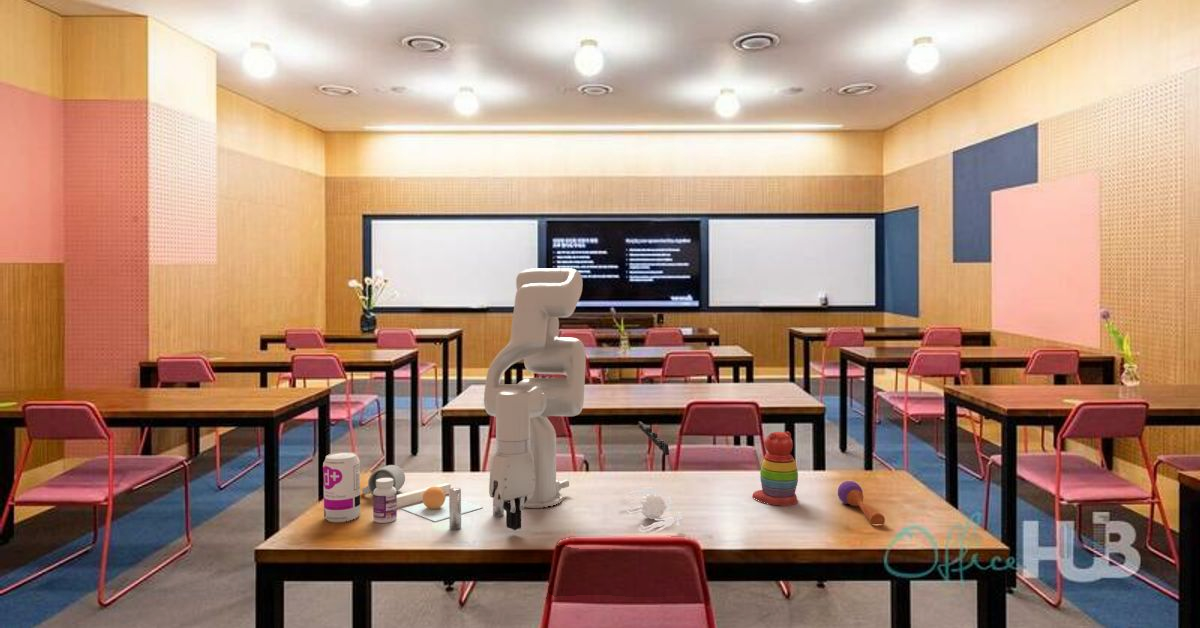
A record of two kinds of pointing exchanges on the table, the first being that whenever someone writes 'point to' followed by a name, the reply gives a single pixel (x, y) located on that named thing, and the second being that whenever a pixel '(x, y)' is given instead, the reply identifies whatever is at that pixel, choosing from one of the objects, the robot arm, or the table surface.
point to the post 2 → (498, 511)
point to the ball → (434, 497)
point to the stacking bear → (778, 471)
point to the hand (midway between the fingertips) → (513, 527)
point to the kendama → (858, 501)
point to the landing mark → (439, 510)
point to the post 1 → (455, 508)
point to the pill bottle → (384, 501)
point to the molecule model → (651, 502)
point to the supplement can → (341, 486)
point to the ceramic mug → (386, 472)
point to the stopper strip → (418, 495)
